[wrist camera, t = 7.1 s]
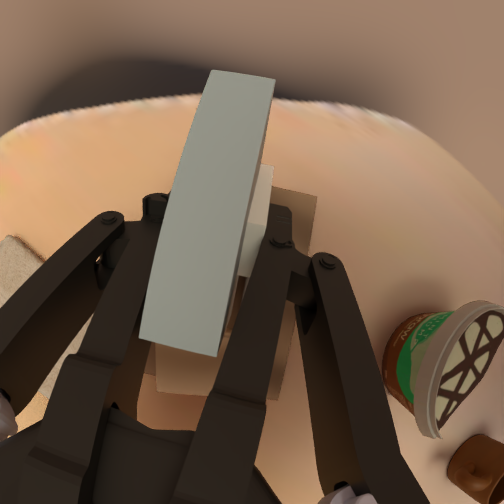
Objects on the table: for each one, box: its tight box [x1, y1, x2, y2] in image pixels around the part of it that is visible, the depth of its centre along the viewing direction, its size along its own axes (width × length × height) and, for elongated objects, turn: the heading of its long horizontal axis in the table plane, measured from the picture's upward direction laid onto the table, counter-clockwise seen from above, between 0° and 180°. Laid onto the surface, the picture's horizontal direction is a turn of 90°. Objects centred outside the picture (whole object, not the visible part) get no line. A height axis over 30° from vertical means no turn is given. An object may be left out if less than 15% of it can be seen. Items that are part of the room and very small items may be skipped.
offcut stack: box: [155, 328, 232, 396], centre depth 21 cm, size 5×8×5 cm
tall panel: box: [139, 70, 275, 357], centre depth 14 cm, size 8×2×14 cm, turn 169°
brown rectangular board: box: [144, 186, 317, 400], centre depth 24 cm, size 18×12×3 cm, turn 169°
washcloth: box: [0, 235, 94, 399], centre depth 23 cm, size 12×18×3 cm, turn 63°
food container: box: [382, 301, 504, 439], centre depth 21 cm, size 12×6×10 cm, turn 133°
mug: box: [448, 435, 504, 504], centre depth 19 cm, size 12×8×9 cm, turn 68°
